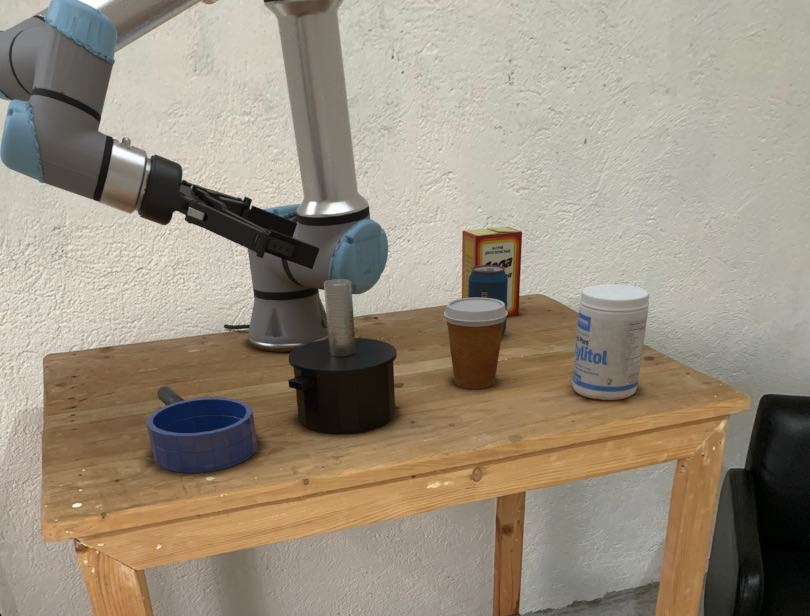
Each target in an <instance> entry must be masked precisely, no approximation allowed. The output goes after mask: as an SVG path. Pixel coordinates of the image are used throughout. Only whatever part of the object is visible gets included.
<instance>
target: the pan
mask: <svg viewBox="0 0 810 616" xmlns="http://www.w3.org/2000/svg"><path fill="white" fill-rule="evenodd" d="M184 400H185V401H180V402H176V403H173V404H170V405H167V406H166V405H164V406H162V407H160V408H158V409H157V410H155V411H153V412H152V413H151V414H150V415H149V416H148V417H147V418H146V428H147V429H146V430H147V433H148V439H149V444H150V448H151V453H152V458H153V459H154V462H155V463H156V465H157V466H158V467H160V468H162V469H164V470H167V471H170V472H176V473H184V474H198V473H209V472H210V473H211V472H217V471H220V470H225V469H228V468H232V467H234V466H237V465H240V464H241V463H244V462H245V461H247V460H249V459H250V458H251V457H252V456H253V455H254V454H255V453H256V452H257V449H258V439H257V431H256V425H255V417H254V411H253V408H252V406H251V405H250V404H248V403H247V402H246V401H243V400H240V399H236V398H231V397H230V398H229V397H222V396H221V397H217V396H214V397H213V396H212V397H211V396H210V397H206V396H205V397H197V398H190V399H184Z"/></svg>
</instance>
